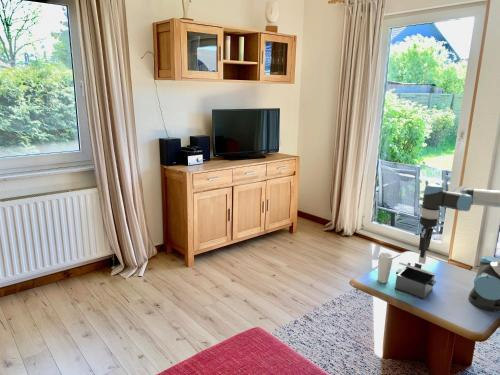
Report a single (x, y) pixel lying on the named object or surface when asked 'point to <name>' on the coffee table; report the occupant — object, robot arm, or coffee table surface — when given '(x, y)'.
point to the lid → (416, 267)
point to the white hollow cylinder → (384, 267)
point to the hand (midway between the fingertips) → (421, 262)
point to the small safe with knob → (414, 282)
